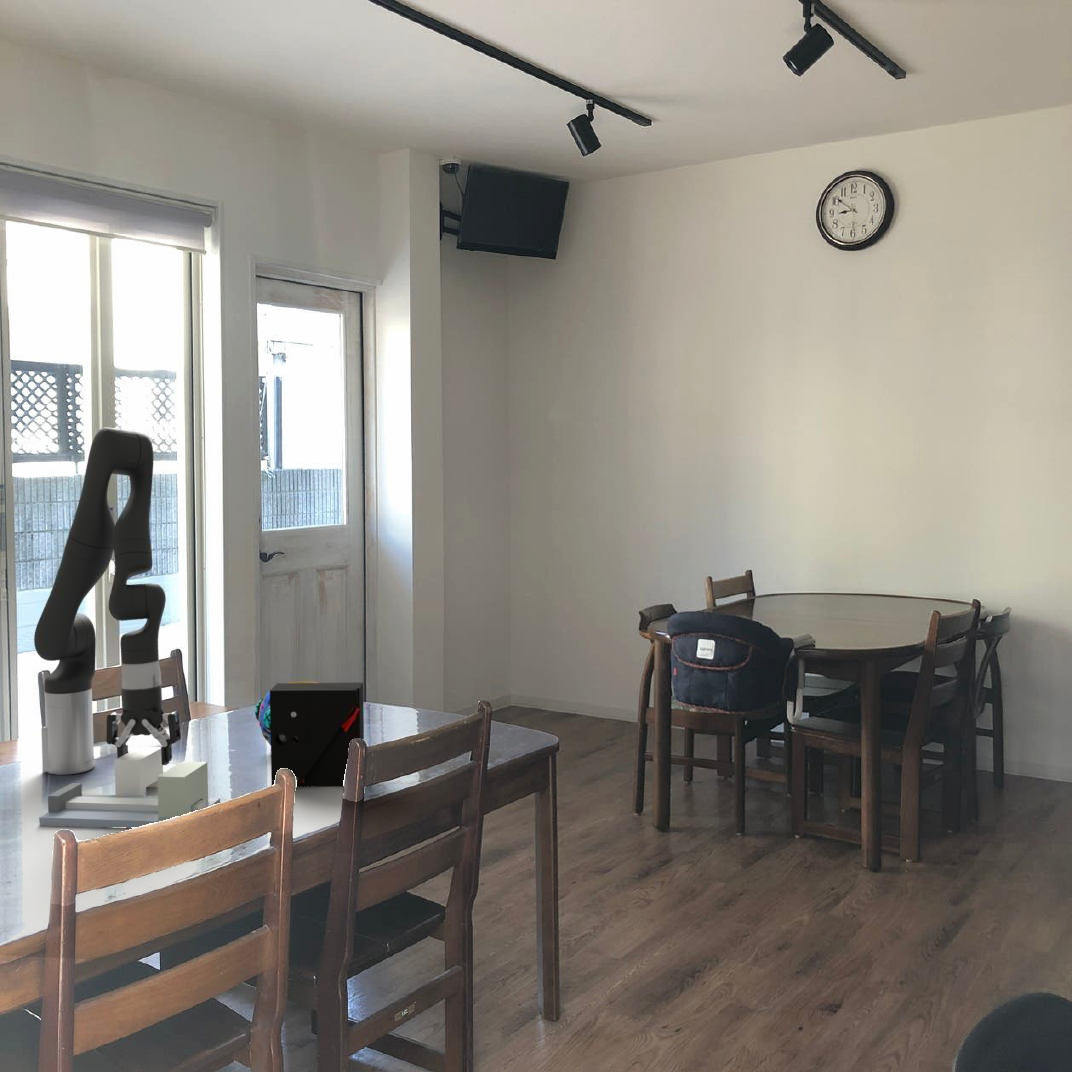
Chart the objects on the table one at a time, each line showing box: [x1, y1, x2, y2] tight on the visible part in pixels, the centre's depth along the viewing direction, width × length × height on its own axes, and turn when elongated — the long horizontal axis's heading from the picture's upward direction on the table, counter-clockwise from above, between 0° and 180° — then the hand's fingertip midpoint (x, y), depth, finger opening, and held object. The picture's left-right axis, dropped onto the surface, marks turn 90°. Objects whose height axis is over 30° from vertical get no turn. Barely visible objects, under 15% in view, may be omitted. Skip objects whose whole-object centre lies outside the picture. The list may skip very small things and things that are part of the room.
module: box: [114, 746, 164, 796], centre depth 213 cm, size 5×10×8 cm, turn 174°
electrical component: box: [269, 681, 365, 789], centre depth 218 cm, size 18×10×20 cm, turn 92°
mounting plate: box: [38, 760, 221, 829], centre depth 197 cm, size 28×14×9 cm, turn 84°
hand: (144, 764), depth 213 cm, fingers open, 8 cm apart
